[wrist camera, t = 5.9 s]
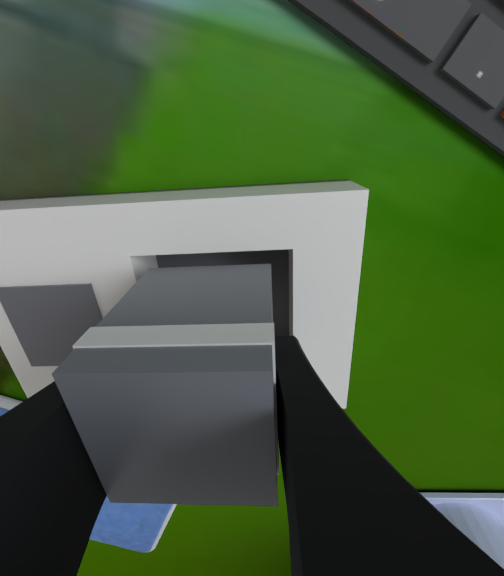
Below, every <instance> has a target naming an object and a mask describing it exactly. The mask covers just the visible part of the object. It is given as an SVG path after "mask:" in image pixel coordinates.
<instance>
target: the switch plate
mask: <svg viewBox="0 0 504 576" xmlns="http://www.w3.org/2000/svg"><path fill="white" fill-rule="evenodd" d="M368 195H369V189H367V188H365V187H363V186H360V185H358V184H356V183H354V182H352V181H350V180H348V179H347V180H330V181H313V182H295V183H278V184H261V185H244V186H227V187H209V188H192V189H175V190H158V191H141V192H123V193H106V194H89V195H72V196H55V197H37V198H20V199H3V200H0V346H1V348H2V350H3V352H4V354H5V356H6V358H7V360H8V362H9V363H10V365H11V367H12V369H13V371H14V373H15V375H16V377H17V379H18V381H19V383H20V385H21V386H22V388H23V390H24V392H25V394H26V396H27V398H29V397H31V396H32V395H34V394H35V393H37V392H39V391H40V390H42V389H43V388H45V387H46V386H48V385H49V384H51V383H52V382H53V381H55V380H54V378H53V376H52V373H53V372H54V371H55V369H56V368H57V367H58V366H59V365H60V364H61V363H62V362H63V361H64V360H65V359H66V358H67V357H68V355H69V354H70V353H71V352H72V351H73V350H74V349H73V347H72V346H73V345H74V344H75V343H76V342H77V341H78V340H79V338H80V337H81V336H82V335H83V334H84V333H85V332H86V331H87V330H88V329H89V328H90V327H95V326H96V325H97V324H98V323H99V322H100V321H101V320H102V319H103V318H104V317H105V316H106V315H107V313H108V312H109V311H110V310H111V309H112V308H113V307H114V306H115V305H116V304H117V303H118V302H119V301H120V300H121V298H122V297H123V296H124V295H125V294H126V293H127V292H128V291H129V290H130V289H131V288H132V287H133V286H134V284H135V283H136V282H137V281H138V280H139V279H140V278H141V277H142V276H143V275H144V274H145V273H146V272H147V270H148V269H149V268H168V267H195V266H222V265H249V264H271V276H272V304H273V323H274V335H275V336H295V337H296V338H297V339H298V341H299V343H300V345H301V348H302V349H303V351H304V353H305V355H306V357H307V359H308V360H309V362H310V364H311V365H312V367H313V368H314V370H315V372H316V373H317V375H318V376H319V378H320V379H321V381H322V382H323V383H324V385H325V386H326V388H327V389H328V391H329V392H330V393H331V395H332V396H333V398H334V399H335V400H336V402H337V403H338V404H339V405H340V407H341V408H342V409H344V408H346V405H347V396H348V386H349V376H350V367H351V357H352V348H353V338H354V329H355V319H356V309H357V300H358V290H359V281H360V271H361V262H362V252H363V242H364V233H365V223H366V214H367V204H368Z"/></svg>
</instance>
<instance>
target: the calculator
mask: <svg viewBox="0 0 504 576" xmlns="http://www.w3.org/2000/svg"><path fill="white" fill-rule="evenodd" d="M289 1H290V2H292V3H293V4H295V5H296V6H297V7H299V8H300V9H301V10H303V11H304V12H306V13H307V14H308V15H310V16H311V17H312V18H314V19H315V20H317V21H318V22H319V23H321V24H322V25H323V26H325V27H326V28H328V29H329V30H330V31H332V32H333V33H334V34H336V35H337V36H339V37H340V38H341V39H343V40H344V41H345V42H347V43H348V44H350V45H351V46H352V47H354V48H355V49H356V50H358V51H359V52H361V53H362V54H363V55H365V56H366V57H367V58H369V59H370V60H372V61H373V62H374V63H376V64H377V65H378V66H380V67H381V68H382V69H384V70H385V71H387V72H388V73H389V74H391V75H392V76H393V77H395V78H396V79H398V80H399V81H400V82H402V83H403V84H404V85H406V86H407V87H409V88H410V89H411V90H413V91H414V92H415V93H417V94H418V95H420V96H421V97H422V98H424V99H425V100H426V101H428V102H429V103H431V104H432V105H433V106H435V107H436V108H437V109H439V110H440V111H442V112H443V113H444V114H446V115H447V116H448V117H450V118H451V119H453V120H454V121H455V122H457V123H458V124H459V125H461V126H462V127H464V128H465V129H466V130H468V131H469V132H470V133H472V134H473V135H475V136H476V137H477V138H479V139H480V140H481V141H483V142H484V143H486V144H487V145H488V146H490V147H491V148H492V149H494V150H495V151H497V152H498V153H499V154H501V155H502V156H503V157H504V0H289Z"/></svg>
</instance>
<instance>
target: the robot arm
mask: <svg viewBox="0 0 504 576" xmlns="http://www.w3.org/2000/svg"><path fill="white" fill-rule="evenodd" d="M275 364H276V394H277V424H278V442H279V450H280V457H281V465H282V472H283V480H284V488H285V495H286V503H287V512H288V522H289V536H290V554H291V572H292V576H504V493H453V492H418V491H417V490H416V489H415V488H414V487H413V486H412V485H411V484H410V483H409V482H408V481H407V480H406V479H405V478H404V477H403V476H402V475H401V474H400V473H399V472H398V471H397V470H396V469H395V468H394V467H393V466H392V465H391V464H390V463H389V462H388V461H387V460H386V459H385V458H384V457H383V456H382V455H381V453H380V452H379V451H378V450H377V449H376V448H375V447H374V446H373V445H372V444H371V443H370V441H369V440H368V439H367V438H366V437H365V436H364V435H363V434H362V432H361V431H360V430H359V429H358V428H357V427H356V425H355V424H354V423H353V422H352V421H351V419H350V418H349V417H348V416H347V414H346V413H345V412H344V411H343V409H342V408H341V407H340V405H339V404H338V403H337V402H336V400H335V399H334V398H333V396H332V395H331V393H330V392H329V391H328V389H327V388H326V386H325V385H324V383H323V382H322V381H321V379H320V378H319V376H318V375H317V373H316V372H315V370H314V368H313V367H312V365H311V364H310V362H309V360H308V359H307V357H306V355H305V353H304V351H303V349H302V348H301V345H300V343H299V341H298V339H297V338H296V337H295V336H275ZM106 496H107V494H106V492H105V490H104V488H103V486H102V483H101V481H100V479H99V477H98V475H97V472H96V470H95V468H94V466H93V464H92V461H91V459H90V457H89V455H88V453H87V451H86V448H85V446H84V444H83V442H82V440H81V437H80V435H79V433H78V431H77V429H76V426H75V424H74V422H73V420H72V418H71V415H70V413H69V411H68V409H67V407H66V404H65V402H64V400H63V398H62V396H61V393H60V391H59V389H58V387H57V385H56V383H55V381H53V382H52V383H51V384H49V385H48V386H46V387H45V388H43V389H42V390H40V391H39V392H37V393H35V394H34V395H32V396H31V397H29V398H28V399H26V400H25V401H23V402H22V403H20V404H18V405H17V406H15V407H14V408H12V409H11V410H9V411H8V412H6V413H4V414H3V415H1V416H0V576H76V575H77V572H78V569H79V567H80V564H81V561H82V558H83V555H84V553H85V550H86V547H87V544H88V541H89V538H90V536H91V533H92V530H93V527H94V524H95V522H96V520H97V517H98V515H99V512H100V510H101V507H102V505H103V503H104V501H105V498H106Z"/></svg>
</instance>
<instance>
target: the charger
mask: <svg viewBox="0 0 504 576" xmlns="http://www.w3.org/2000/svg"><path fill="white" fill-rule="evenodd" d="M72 347H73V349H74V350H73V351H72V352H71V353H70V354H69V355H68V357H67V358H66V359H65V360H64V361H63V362H62V363H61V364H60V365H59V366H58V367H57V368H56V369H55V371H54V372H53V373H52V376H53V378H54V380H55V383H56V385H57V387H58V389H59V391H60V393H61V396H62V398H63V400H64V402H65V404H66V407H67V409H68V411H69V413H70V415H71V418H72V420H73V422H74V424H75V426H76V429H77V431H78V433H79V435H80V437H81V440H82V442H83V444H84V446H85V448H86V451H87V453H88V455H89V457H90V459H91V461H92V464H93V466H94V468H95V470H96V472H97V475H98V477H99V479H100V481H101V483H102V486H103V488H104V490H105V492H106V494H107V497H108V499H109V501H110V503H149V504H195V505H242V506H278V494H277V475H279V454H278V424H277V394H276V364H275V335H274V323H273V304H272V276H271V264H249V265H222V266H195V267H168V268H149V269H148V270H147V272H146V273H145V274H144V275H143V276H142V277H141V278H140V279H139V280H138V281H137V282H136V283H135V284H134V286H133V287H132V288H131V289H130V290H129V291H128V292H127V293H126V294H125V295H124V296H123V297H122V298H121V300H120V301H119V302H118V303H117V304H116V305H115V306H114V307H113V308H112V309H111V310H110V311H109V312H108V313H107V315H106V316H105V317H104V318H103V319H102V320H101V321H100V322H99V323H98V324H97V325H96V326H95V327H90V328H89V329H88V330H87V331H86V332H85V333H84V334H83V335H82V336H81V337H80V338H79V340H78V341H77V342H76V343H75V344H74V345H73V346H72Z"/></svg>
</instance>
